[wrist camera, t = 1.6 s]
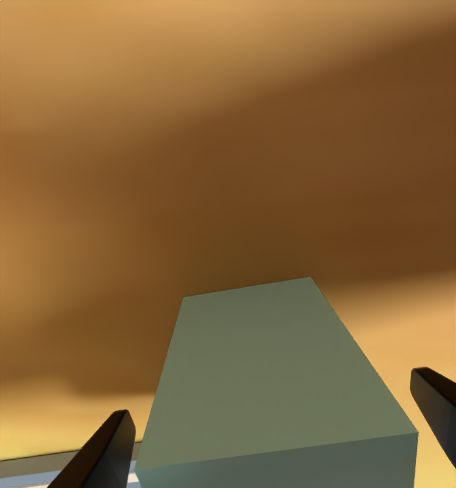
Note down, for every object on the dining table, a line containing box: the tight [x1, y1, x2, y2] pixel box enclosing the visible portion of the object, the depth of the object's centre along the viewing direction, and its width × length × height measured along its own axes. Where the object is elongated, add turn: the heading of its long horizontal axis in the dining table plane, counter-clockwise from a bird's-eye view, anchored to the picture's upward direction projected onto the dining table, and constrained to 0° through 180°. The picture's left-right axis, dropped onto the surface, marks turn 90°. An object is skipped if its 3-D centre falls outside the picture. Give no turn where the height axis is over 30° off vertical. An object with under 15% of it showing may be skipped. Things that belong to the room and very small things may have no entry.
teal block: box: [134, 277, 419, 488], centre depth 8 cm, size 5×5×6 cm
